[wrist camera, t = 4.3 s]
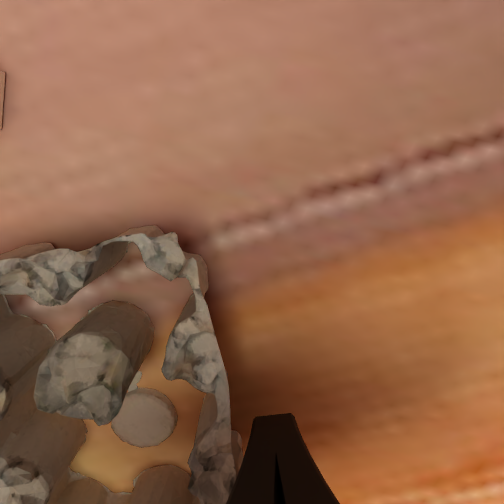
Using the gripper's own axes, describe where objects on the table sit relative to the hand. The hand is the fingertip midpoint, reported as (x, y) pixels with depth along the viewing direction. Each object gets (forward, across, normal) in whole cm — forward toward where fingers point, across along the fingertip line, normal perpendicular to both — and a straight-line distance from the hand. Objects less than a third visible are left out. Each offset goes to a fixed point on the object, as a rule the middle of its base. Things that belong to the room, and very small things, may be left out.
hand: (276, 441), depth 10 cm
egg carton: (+2, +5, -2) cm, 6 cm away
